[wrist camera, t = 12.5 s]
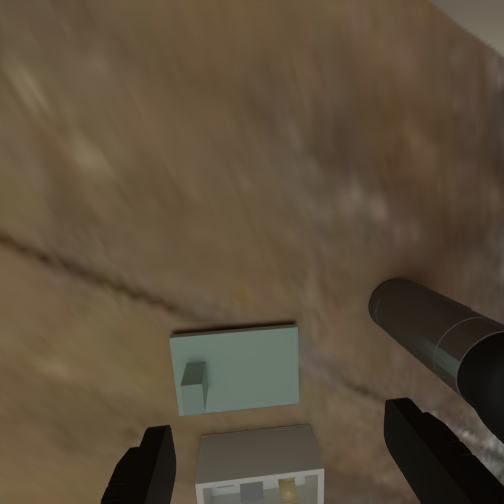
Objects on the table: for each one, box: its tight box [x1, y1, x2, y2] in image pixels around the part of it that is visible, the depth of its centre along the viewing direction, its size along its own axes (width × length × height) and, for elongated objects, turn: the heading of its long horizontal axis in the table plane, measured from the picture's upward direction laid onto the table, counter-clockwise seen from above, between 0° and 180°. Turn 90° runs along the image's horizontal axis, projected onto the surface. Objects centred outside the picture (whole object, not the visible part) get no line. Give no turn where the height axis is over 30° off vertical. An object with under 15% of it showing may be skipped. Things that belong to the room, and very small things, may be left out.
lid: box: [169, 324, 299, 416], centre depth 40 cm, size 20×14×8 cm
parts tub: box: [195, 424, 324, 504], centre depth 44 cm, size 20×14×8 cm
